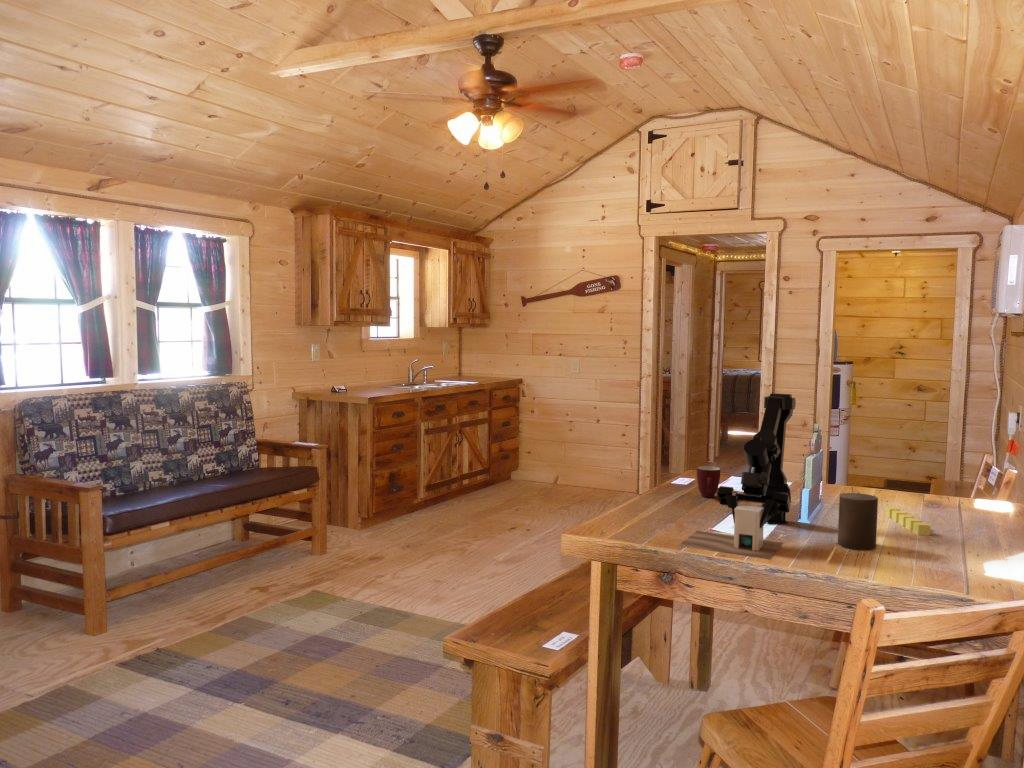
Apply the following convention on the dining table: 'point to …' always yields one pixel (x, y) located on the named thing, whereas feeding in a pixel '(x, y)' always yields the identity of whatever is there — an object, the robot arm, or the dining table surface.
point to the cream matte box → (748, 525)
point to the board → (729, 545)
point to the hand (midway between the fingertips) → (747, 525)
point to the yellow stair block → (908, 521)
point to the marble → (747, 540)
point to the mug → (708, 480)
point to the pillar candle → (857, 521)
